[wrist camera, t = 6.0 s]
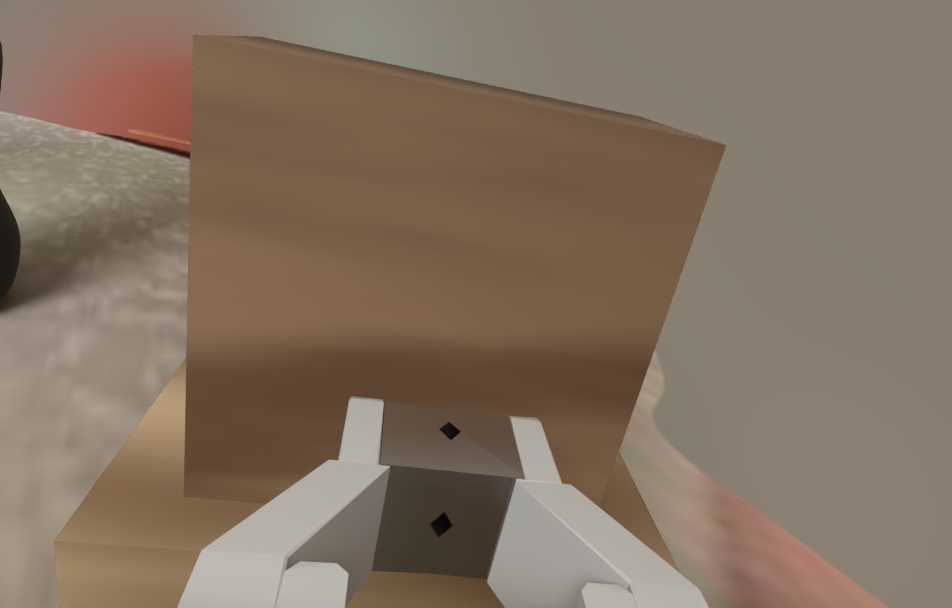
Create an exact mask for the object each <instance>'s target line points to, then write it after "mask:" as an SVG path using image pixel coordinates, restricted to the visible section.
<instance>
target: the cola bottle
mask: <svg viewBox="0 0 952 608" xmlns="http://www.w3.org/2000/svg"><path fill="white" fill-rule="evenodd" d="M2 59H3V57H2V45H1V42H0V90H1V77H2V66H3V60H2ZM20 246H21V245H20V233H19V229H18V225H17V222H16V219H15V217H14V215H13V213H12V211H11V209H10V207H9V205H8V203H7V201H6V199H5V197H4V195H3V194H2V192H1V190H0V299H1V298H2V297H3V296H4V295H5V294H6V293H7V291H8V290H9V289H10V287H11V285H12V283H13V281H14V278H15V275H16V272H17V268H18V264H19V258H20Z"/></svg>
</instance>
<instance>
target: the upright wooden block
mask: <svg viewBox="0 0 952 608" xmlns="http://www.w3.org/2000/svg"><path fill="white" fill-rule="evenodd" d="M192 60H193V61H192V106H191V107H192V108H191V155H190V204H189V254H188V304H187V354H186V403H185V453H184V497H192V498H204V499H215V500H226V501H238V502H249V503H261V504H267V503H268V502H270V501H271V500H273V499H274V498H275V497H277V496H278V495H280V494H281V493H282V492H284V491H285V490H287V489H288V488H289V487H291V486H292V485H294V484H295V483H296V482H298V481H299V480H301V479H302V478H303V477H305V476H306V475H308V474H309V473H310V472H312V471H313V470H315V469H316V468H317V467H319V466H320V465H322V464H323V463H325V462H326V461H327V460H338V459H339V454H340V448H341V443H342V437H343V432H344V426H345V420H346V415H347V409H348V404H349V399H350V398H351V396H355V397H364V398H373V399H382V400H383V402H384V400H387V401H394V402H401V403H408V404H415V405H423V406H430V407H437V408H444V409H447V410H453V411H463V412H474V413H485V414H495V415H506V416H507V415H508V416H520V417H532V418H537V419H539V420H540V421H541V424H542V426H543V429H544V432H545V435H546V438H547V441H548V444H549V447H550V450H551V452H552V455H553V458H554V461H555V464H556V467H557V470H558V473H559V475H560V478H561V481H562V484H570V485H572V486H574V487H575V488H576V489H577V490H579V491H580V492H581V493H582V494H583V495H585V496H586V497H587V498H588V499H590V500H591V501H592V502H593V503H594V504H596V505H597V506H598V507H599V506H600V503H601V500H602V497H603V495H604V492H605V489H606V486H607V483H608V480H609V478H610V475H611V472H612V469H613V466H614V463H615V460H616V458H617V455H618V452H619V449H620V446H621V443H622V441H623V438H624V435H625V432H626V429H627V426H628V423H629V421H630V418H631V415H632V412H633V409H634V406H635V404H636V401H637V398H638V395H639V392H640V389H641V386H642V384H643V381H644V378H645V375H646V372H647V369H648V367H649V364H650V361H651V358H652V355H653V352H654V349H655V347H656V344H657V341H658V338H659V335H660V332H661V330H662V327H663V324H664V321H665V318H666V315H667V312H668V310H669V307H670V304H671V301H672V298H673V295H674V292H675V290H676V287H677V284H678V281H679V278H680V275H681V272H682V270H683V267H684V264H685V261H686V258H687V255H688V253H689V250H690V247H691V244H692V241H693V238H694V235H695V233H696V230H697V227H698V224H699V221H700V219H701V216H702V212H703V210H704V207H705V204H706V201H707V198H708V196H709V193H710V190H711V187H712V184H713V182H714V179H715V176H716V173H717V170H718V167H719V164H720V161H721V159H722V156H723V153H724V150H725V147H726V145H724V144H721V143H718V142H715V141H712V140H709V139H705V138H703V137H700V136H697V135H694V134H690V133H688V132H684V131H682V130H678V129H675V128H672V127H669V126H666V125H663V124H660V123H657V122H654V121H651V120H648V119H645V118H642V117H638V116H634V115H629V114H625V113H619V112H615V111H610V110H606V109H601V108H596V107H591V106H587V105H582V104H577V103H572V102H568V101H563V100H558V99H553V98H549V97H544V96H539V95H534V94H529V93H525V92H520V91H515V90H511V89H506V88H501V87H496V86H491V85H487V84H482V83H477V82H473V81H468V80H463V79H458V78H454V77H449V76H444V75H439V74H434V73H430V72H425V71H420V70H416V69H411V68H406V67H401V66H397V65H392V64H387V63H382V62H377V61H373V60H368V59H363V58H358V57H354V56H349V55H344V54H340V53H335V52H330V51H325V50H320V49H316V48H311V47H306V46H301V45H297V44H292V43H287V42H283V41H278V40H273V39H268V38H264V37H248V36H218V35H193V58H192Z"/></svg>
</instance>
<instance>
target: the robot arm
mask: <svg viewBox="0 0 952 608" xmlns="http://www.w3.org/2000/svg"><path fill="white" fill-rule="evenodd" d="M371 571H383V572H405V573H427V574H438V575H448V576H458V577H467V578H477V579H487V583H488V585H489V586H490V587H491V589H492V590H493V592H494V593H495V594H496V596H497V597H498V599H499V600H500V601H501V603H502V604H503V606H504V607H505V608H709V607H708V605H707V603H706V601H705V599H704V597H703V595H702V593H701V591H700V589H699V588H697V587H696V586H695V585H694V584H693V583H691V582H690V581H689V580H688V579H686V578H685V577H684V576H683V575H682V574H680V573H679V572H678V571H677V570H675V569H674V568H673V567H672V566H670V565H669V564H668V563H667V562H666V561H664V560H663V559H662V558H661V557H659V556H658V555H657V554H656V553H655V552H653V551H652V550H651V549H650V548H648V547H647V546H646V545H645V544H644V543H642V542H641V541H640V540H639V539H637V538H636V537H635V536H634V535H632V534H631V533H630V532H629V531H628V530H626V529H625V528H624V527H623V526H621V525H620V524H619V523H618V522H617V521H615V520H614V519H613V518H612V517H610V516H609V515H608V514H607V513H606V512H604V511H603V510H602V509H601V508H599V507H598V506H597V505H596V504H594V503H593V502H592V501H591V500H590V499H588V498H587V497H586V496H585V495H583V494H582V493H581V492H580V491H579V490H577V489H576V488H575V487H574V486H572V485H570V484H562V481H561V478H560V475H559V473H558V470H557V467H556V464H555V461H554V458H553V455H552V452H551V450H550V447H549V444H548V441H547V438H546V435H545V432H544V429H543V426H542V424H541V421H540V420H539V419H537V418H532V417H520V416H508V415H507V416H506V415H495V414H485V413H474V412H463V411H453V410H447V409H444V408H437V407H430V406H423V405H415V404H408V403H401V402H394V401H387V400H384V402H383V400H382V399H373V398H364V397H355V396H351V398H350V399H349V404H348V409H347V415H346V420H345V426H344V432H343V437H342V443H341V448H340V454H339V459H338V460H327V461H326V462H325V463H323V464H322V465H320V466H319V467H317V468H316V469H315V470H313V471H312V472H310V473H309V474H308V475H306V476H305V477H303V478H302V479H301V480H299V481H298V482H296V483H295V484H294V485H292V486H291V487H289V488H288V489H287V490H285V491H284V492H282V493H281V494H280V495H278V496H277V497H275V498H274V499H273V500H271V501H270V502H268V503H267V504H266V505H264V506H263V507H261V508H260V509H259V510H257V511H256V512H254V513H253V514H252V515H250V516H249V517H247V518H246V519H245V520H243V521H242V522H240V523H239V524H238V525H236V526H235V527H233V528H232V529H231V530H229V531H228V532H226V533H225V534H224V535H222V536H221V537H219V538H218V539H216V540H215V541H214V542H212V543H211V544H209V545H208V546H207V547H205V548H204V549H202V550H201V552H200V555H199V557H198V559H197V562H196V564H195V567H194V569H193V571H192V574H191V576H190V578H189V581H188V583H187V585H186V588H185V590H184V592H183V595H182V597H181V599H180V602H179V604H178V607H177V608H345V607H346V605H347V604H348V603H349V601H350V600H351V599H352V598H353V596H354V595H355V594H356V593H357V591H358V590H359V589H360V588H361V586H362V585H363V584H364V583H365V581H366V580H367V579H368V577H369V576H370V575H371Z"/></svg>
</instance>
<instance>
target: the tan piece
mask: <svg viewBox="0 0 952 608" xmlns="http://www.w3.org/2000/svg"><path fill="white" fill-rule="evenodd" d="M185 403H186V358H185V360H184V361H183V363H182V364H181V365H180V367H179V368H178V370H177V371H176V372H175V374H174V375H173V376H172V378H171V379H170V381H169V382H168V383H167V385H166V386H165V388H164V389H163V390H162V392H161V393H160V394H159V396H158V397H157V399H156V400H155V401H154V403H153V404H152V406H151V407H150V408H149V410H148V411H147V413H146V414H145V415H144V417H143V418H142V419H141V421H140V422H139V424H138V425H137V426H136V428H135V429H134V431H133V432H132V433H131V435H130V436H129V437H128V439H127V440H126V442H125V443H124V444H123V446H122V447H121V449H120V450H119V451H118V453H117V454H116V455H115V457H114V458H113V460H112V461H111V462H110V464H109V465H108V467H107V468H106V469H105V471H104V472H103V474H102V475H101V476H100V478H99V479H98V480H97V482H96V483H95V485H94V486H93V487H92V489H91V490H90V492H89V493H88V494H87V496H86V497H85V498H84V500H83V501H82V503H81V504H80V505H79V507H78V508H77V510H76V511H75V512H74V514H73V515H72V516H71V518H70V519H69V521H68V522H67V523H66V525H65V526H64V528H63V529H62V530H61V532H60V533H59V535H58V536H57V537H56V539H55V540H54V546H55V558H56V570H57V581H58V593H59V605H60V608H177V607H178V604H179V602H180V599H181V597H182V595H183V592H184V590H185V588H186V585H187V583H188V581H189V578H190V576H191V574H192V571H193V569H194V567H195V564H196V562H197V559H198V557H199V555H200V552H201V550H202V549H204V548H205V547H207V546H208V545H209V544H211V543H212V542H214V541H215V540H216V539H218V538H219V537H221V536H222V535H224V534H225V533H226V532H228V531H229V530H231V529H232V528H233V527H235V526H236V525H238V524H239V523H240V522H242V521H243V520H245V519H246V518H247V517H249V516H250V515H252V514H253V513H254V512H256V511H257V510H259V509H260V508H261V507H263V506H264V505H266V504H261V503H249V502H238V501H226V500H215V499H204V498H192V497H184V453H185ZM599 508H601V509H602V510H603V511H604V512H606V513H607V514H608V515H609V516H610V517H612V518H613V519H614V520H615V521H617V522H618V523H619V524H620V525H621V526H623V527H624V528H625V529H626V530H628V531H629V532H630V533H631V534H632V535H634V536H635V537H636V538H637V539H639V540H640V541H641V542H642V543H644V544H645V545H646V546H647V547H648V548H650V549H651V550H652V551H653V552H655V553H656V554H657V555H658V556H659V557H661V558H662V559H663V560H664V561H666V562H667V563H668V564H669V565H670V566H672V567H673V568H674V569H675V570H677V571H678V569H677V567H676V565H675V563H674V561H673V559H672V557H671V555H670V553H669V551H668V549H667V547H666V545H665V543H664V541H663V539H662V537H661V535H660V533H659V531H658V529H657V527H656V525H655V523H654V521H653V519H652V517H651V515H650V513H649V511H648V509H647V507H646V505H645V503H644V501H643V499H642V497H641V495H640V493H639V491H638V489H637V487H636V485H635V483H634V481H633V479H632V477H631V475H630V473H629V471H628V469H627V467H626V465H625V463H624V461H623V459H622V457H621V455H620V453H619V452H618V455H617V458H616V460H615V463H614V466H613V469H612V472H611V475H610V478H609V480H608V483H607V486H606V489H605V492H604V495H603V497H602V500H601V503H600V506H599ZM678 572H679V571H678ZM345 608H505V607H504V606H503V604H502V603H501V601H500V600H499V599H498V597H497V596H496V594H495V593H494V592H493V590H492V589H491V587H490V586H489V585H488V583H487V579H477V578H467V577H458V576H448V575H438V574H427V573H405V572H383V571H371V575H370V576H369V577H368V579H367V580H366V581H365V583H364V584H363V585H362V586H361V588H360V589H359V590H358V591H357V593H356V594H355V595H354V596H353V598H352V599H351V600H350V601H349V603H348V604H347V605H346V607H345Z"/></svg>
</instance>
